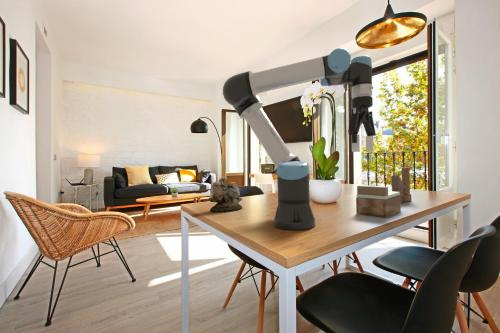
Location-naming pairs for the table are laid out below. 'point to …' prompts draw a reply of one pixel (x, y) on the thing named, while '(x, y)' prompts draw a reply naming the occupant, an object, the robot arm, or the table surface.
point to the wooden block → (402, 185)
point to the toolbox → (378, 206)
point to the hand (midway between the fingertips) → (363, 151)
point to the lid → (375, 192)
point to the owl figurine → (225, 196)
